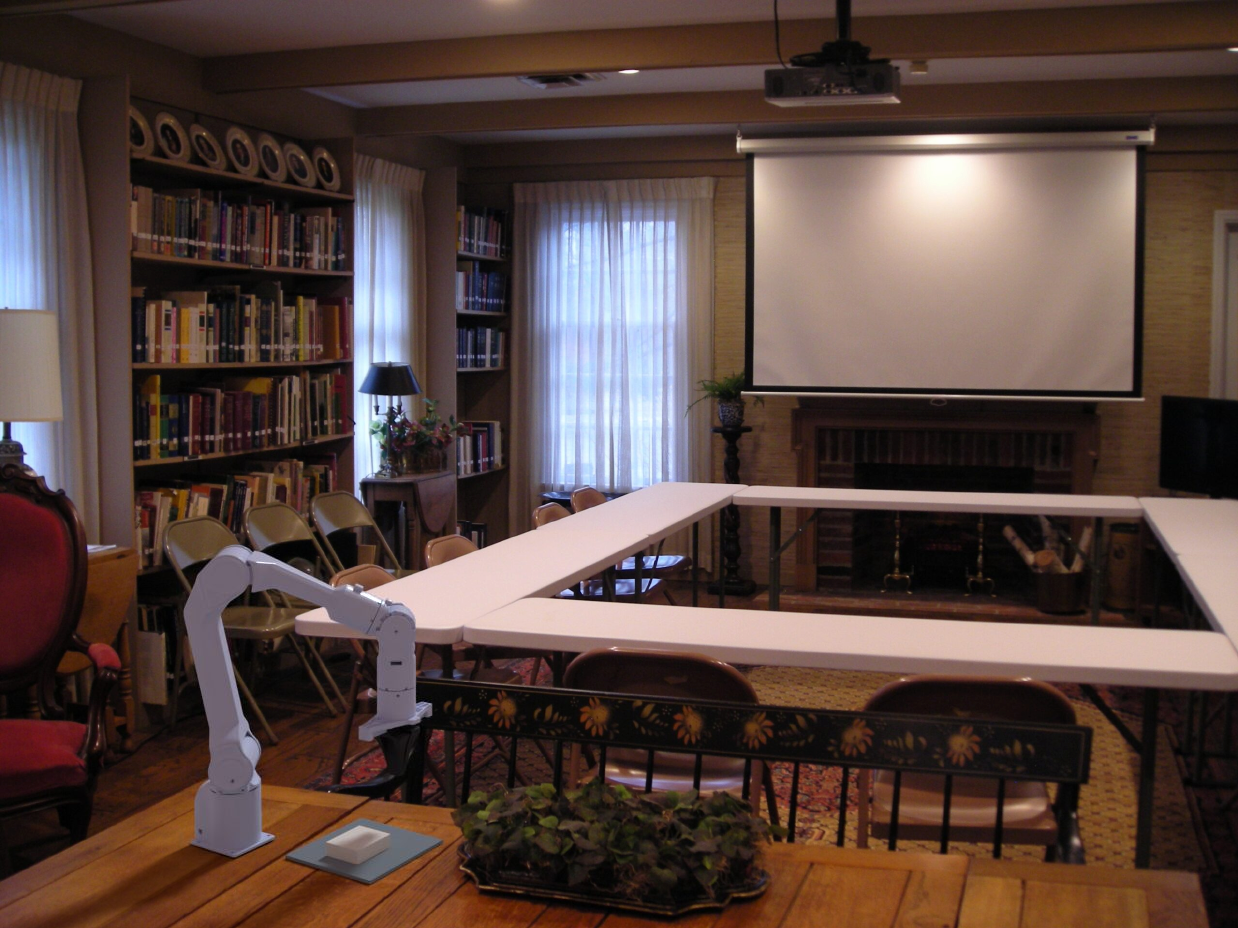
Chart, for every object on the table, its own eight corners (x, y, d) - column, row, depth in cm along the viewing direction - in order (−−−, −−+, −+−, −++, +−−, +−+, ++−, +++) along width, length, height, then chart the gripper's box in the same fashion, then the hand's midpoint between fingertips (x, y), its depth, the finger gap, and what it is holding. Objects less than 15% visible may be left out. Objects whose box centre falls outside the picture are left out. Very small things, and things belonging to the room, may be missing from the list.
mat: (285, 858, 168) (285, 854, 167) (361, 820, 181) (361, 817, 181) (370, 884, 160) (370, 880, 160) (442, 842, 174) (442, 839, 174)
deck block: (359, 838, 174) (326, 855, 168) (359, 825, 173) (326, 841, 167) (390, 846, 171) (357, 864, 165) (390, 833, 171) (357, 850, 164)
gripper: (384, 702, 166) (385, 794, 168) (447, 678, 179) (447, 764, 180) (347, 694, 170) (348, 784, 171) (411, 672, 182) (411, 756, 184)
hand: (396, 773), depth 176 cm, fingers closed
